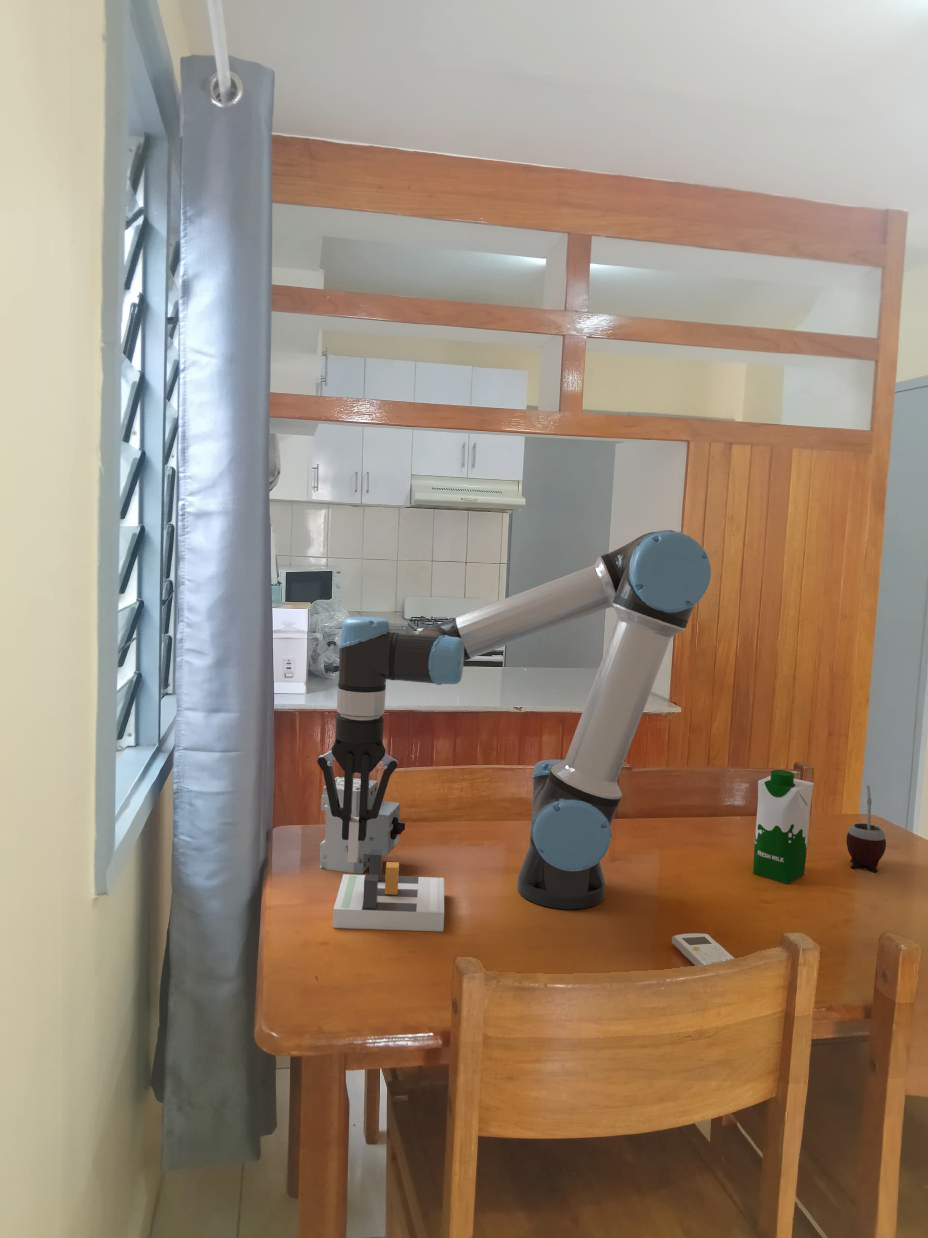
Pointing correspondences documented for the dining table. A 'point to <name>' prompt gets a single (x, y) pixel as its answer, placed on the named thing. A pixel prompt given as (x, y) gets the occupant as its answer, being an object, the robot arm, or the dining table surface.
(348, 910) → the panel
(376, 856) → the block
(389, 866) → the block
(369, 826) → the circuit breaker
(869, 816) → the mate gourd
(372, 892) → the block
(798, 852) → the milk carton
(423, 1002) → the dining table surface
